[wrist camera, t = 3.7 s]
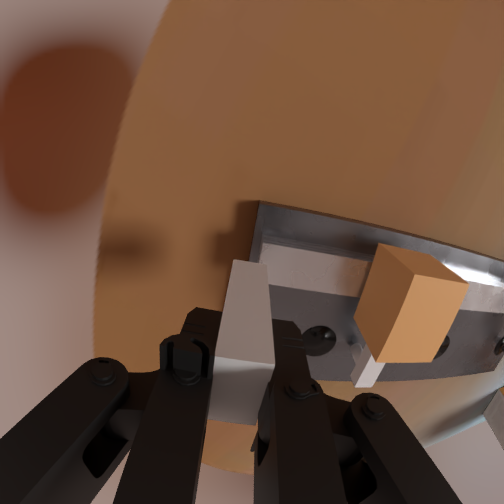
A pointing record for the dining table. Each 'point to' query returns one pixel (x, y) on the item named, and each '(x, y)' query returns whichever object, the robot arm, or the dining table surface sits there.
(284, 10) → the dining table surface
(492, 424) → the small box
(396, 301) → the block
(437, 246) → the bolt plate
